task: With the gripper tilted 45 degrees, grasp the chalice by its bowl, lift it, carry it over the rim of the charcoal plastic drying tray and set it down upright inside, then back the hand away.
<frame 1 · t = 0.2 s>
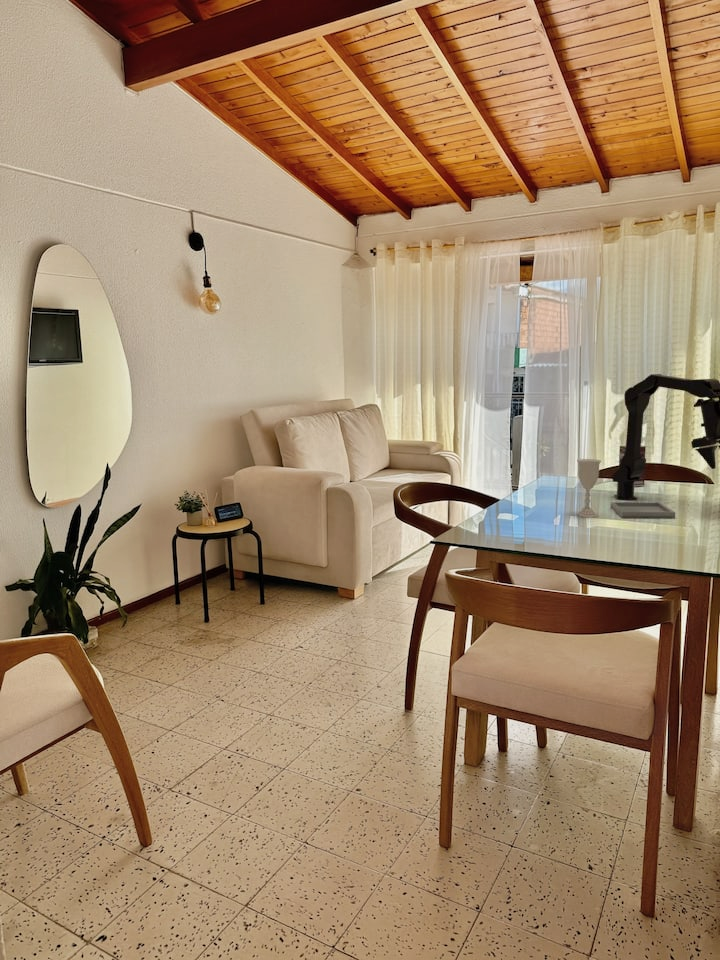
chalice: (586, 516, 219), on the table
drying tray: (641, 513, 221), on the table
supplement box: (630, 486, 266), on the table
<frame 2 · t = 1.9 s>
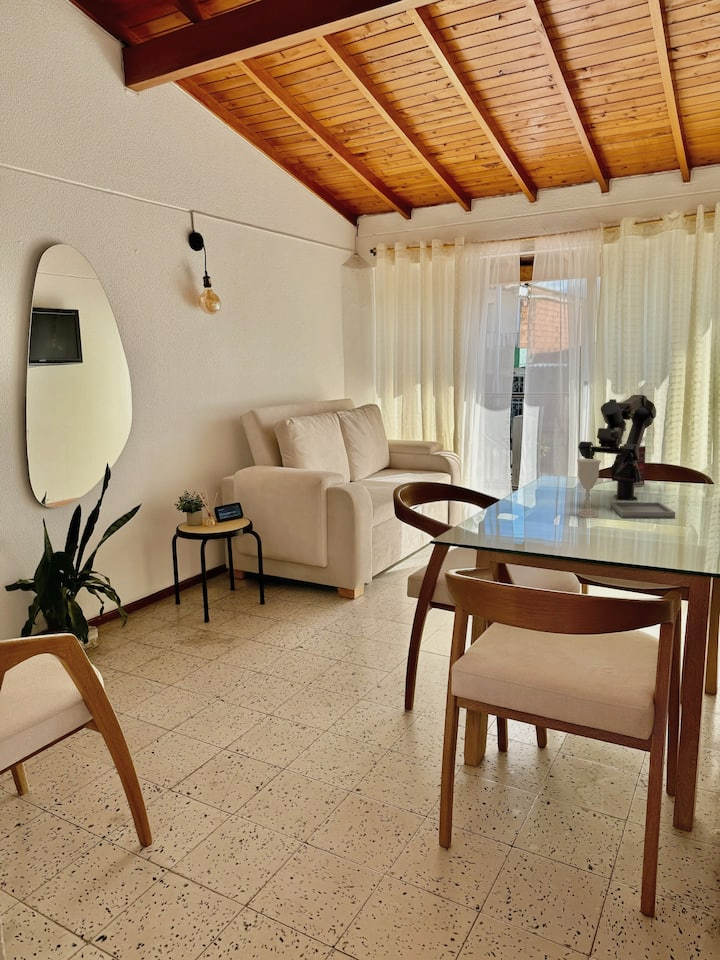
hand: (601, 471, 222), 13 cm above the table, tool tilted 45°, fingers open, 9 cm apart
nothing on the table moved.
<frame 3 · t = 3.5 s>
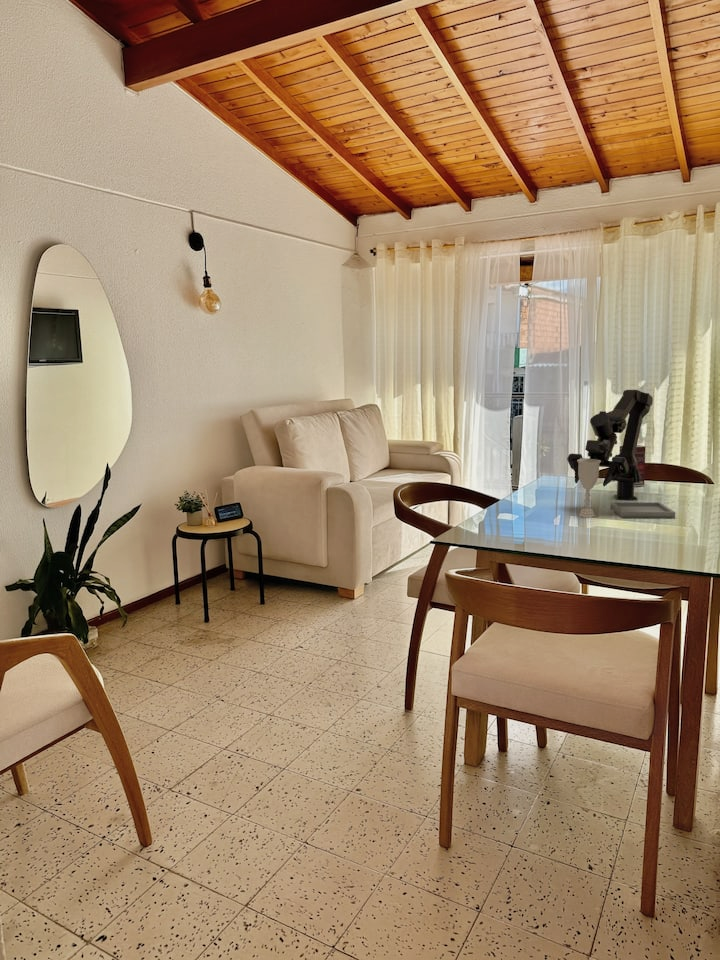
hand: (589, 484, 218), 10 cm above the table, tool tilted 45°, fingers open, 9 cm apart
nothing on the table moved.
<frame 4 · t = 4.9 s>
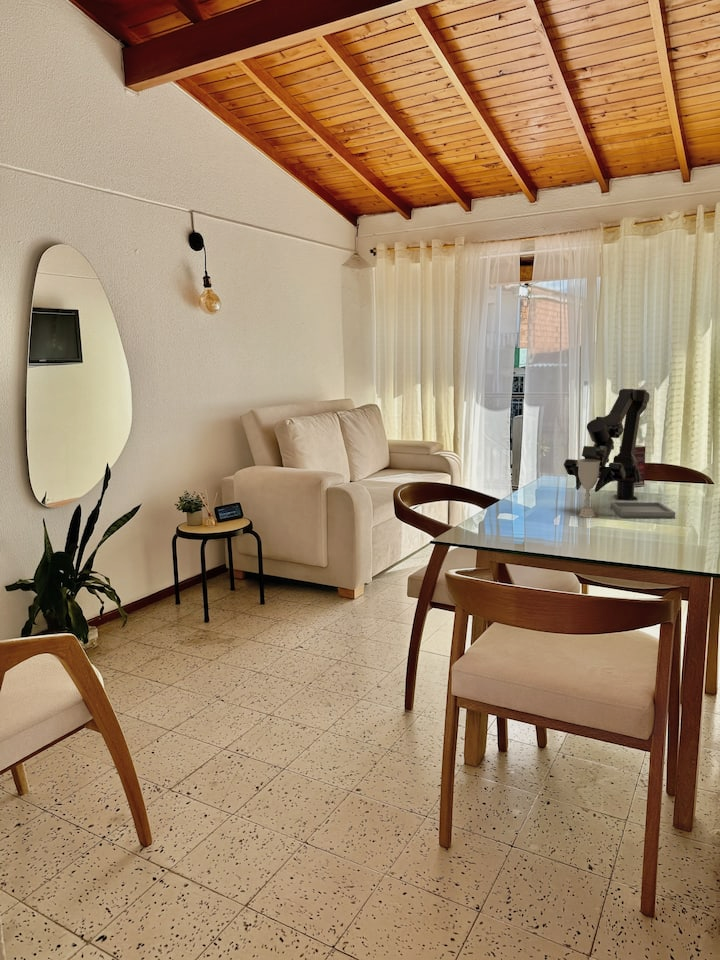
hand: (586, 490, 217), 9 cm above the table, tool tilted 45°, fingers closed on chalice, 6 cm apart
chalice: (586, 516, 219), on the table, touching gripper
everything else where it was.
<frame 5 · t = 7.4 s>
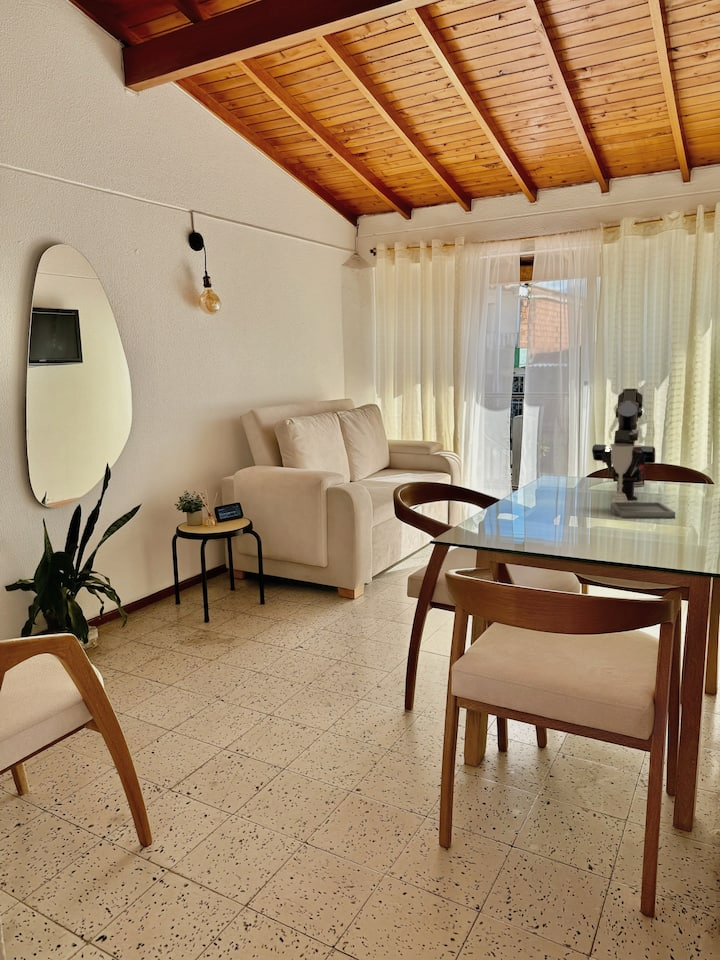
hand: (620, 475, 215), 13 cm above the table, tool tilted 45°, fingers closed on chalice, 6 cm apart
chalice: (619, 501, 218), point 5 cm above the table, touching gripper
everything else where it was.
when the fingers open (11 cm above the table, at t = 9.7 s): chalice drops 1 cm, resting on drying tray.
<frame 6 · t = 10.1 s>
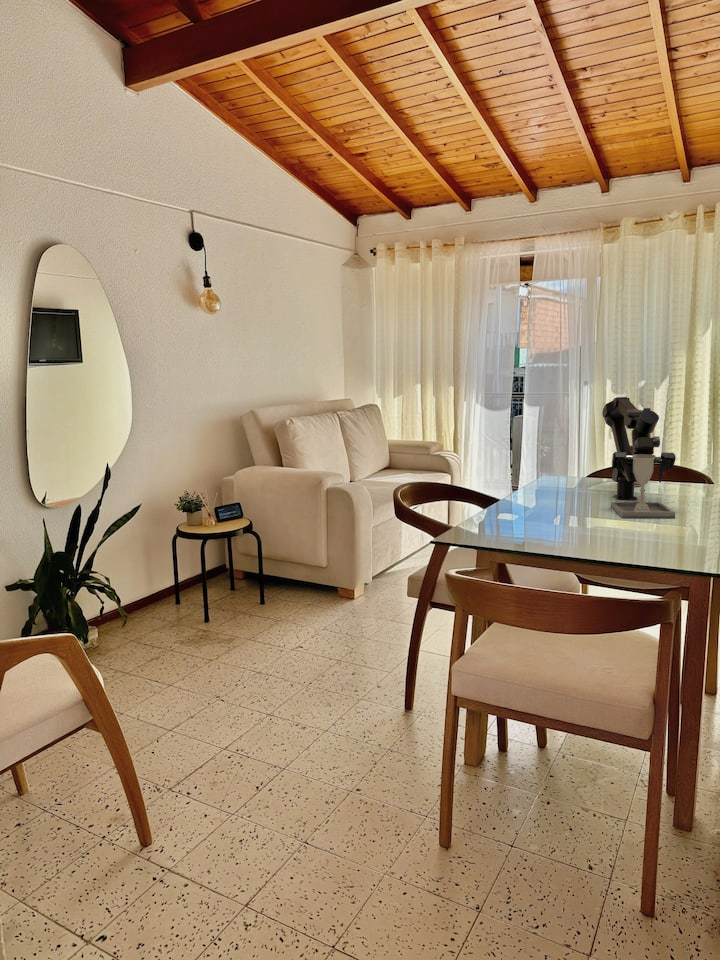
hand: (644, 481, 217), 11 cm above the table, tool tilted 45°, fingers open, 9 cm apart
chalice: (641, 511, 220), point 1 cm above the table, touching drying tray, gripper
everything else where it was.
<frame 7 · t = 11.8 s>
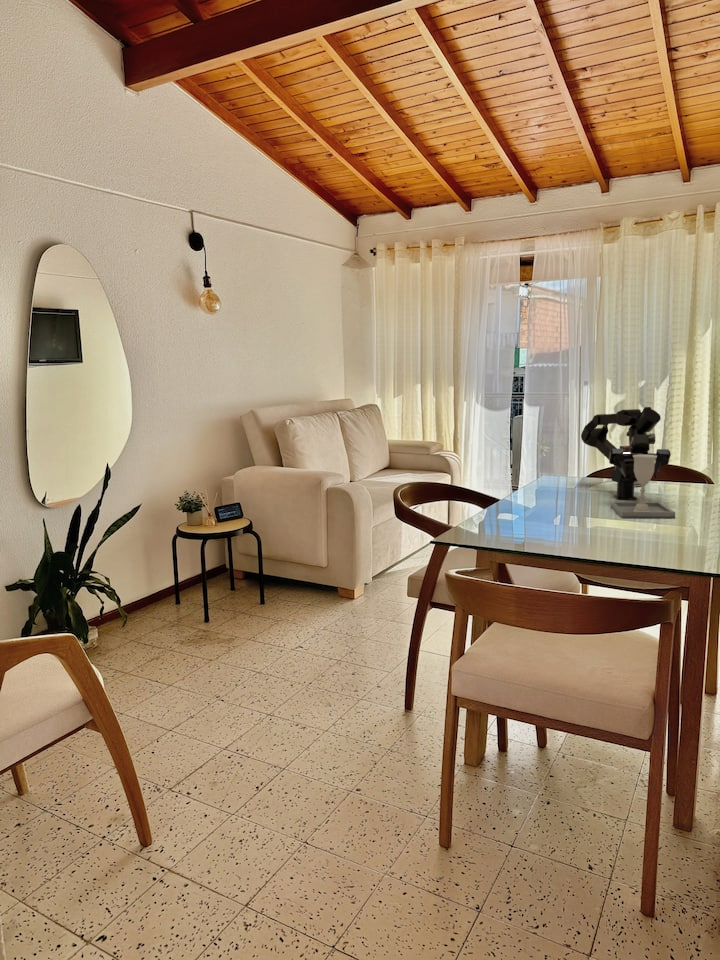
hand: (640, 477, 225), 11 cm above the table, tool tilted 45°, fingers open, 9 cm apart
chalice: (641, 511, 220), point 1 cm above the table, touching drying tray
everything else where it was.
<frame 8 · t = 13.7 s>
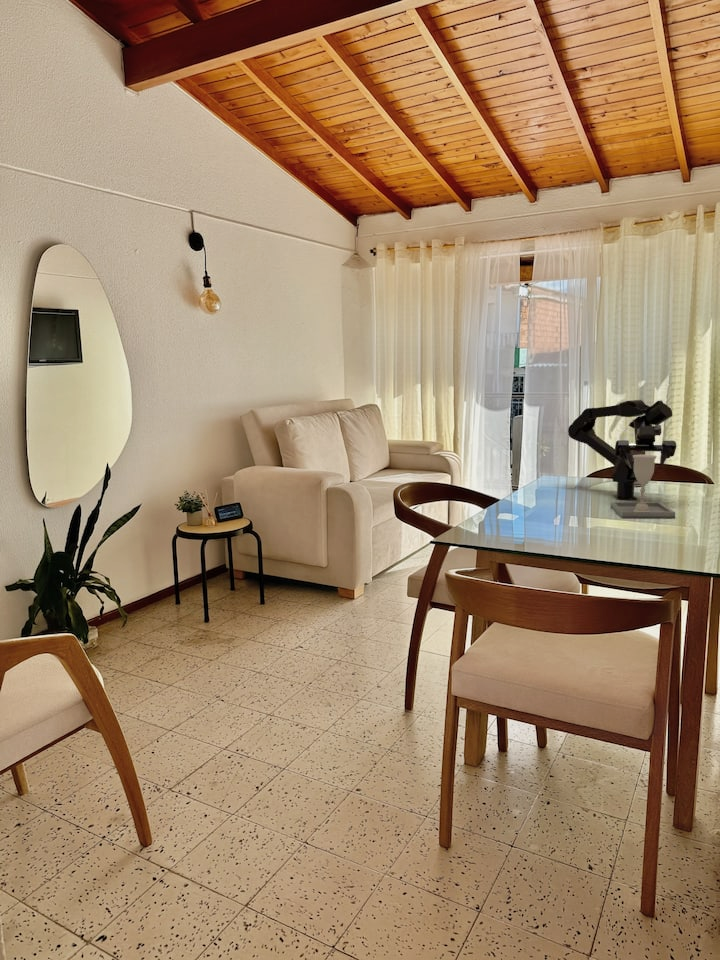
hand: (646, 468, 225), 14 cm above the table, tool tilted 45°, fingers open, 9 cm apart
nothing on the table moved.
at the end: chalice inside the target area on the drying tray (0.5 cm from its centre), point 0.6 cm above the drying tray's base; chalice tilted 0°; the gripper is holding nothing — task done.
